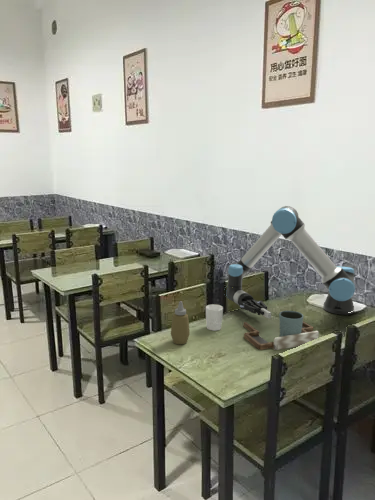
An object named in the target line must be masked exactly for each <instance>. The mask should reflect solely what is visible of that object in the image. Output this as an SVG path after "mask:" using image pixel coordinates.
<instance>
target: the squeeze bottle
mask: <svg viewBox="0 0 375 500" xmlns="http://www.w3.org/2000/svg"><path fill="white" fill-rule="evenodd" d="M170 327H171V329H170V336H171V338H172V342H173V344H175V345H184V344H187V343H188V341H189V339H190V338H189V337H190V335H191V334H190V333H191V332H190V320H189V315H188V314H187V309H186V308H184V304H183V301H181V300H180V301H179V302H178V306H177V308H175V309H174V313H173V315H172V318H171V326H170Z"/></svg>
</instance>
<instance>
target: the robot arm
mask: <svg viewBox="0 0 375 500" xmlns="http://www.w3.org/2000/svg"><path fill="white" fill-rule="evenodd" d="M271 219H272V220H271V221H270V225H269V226H268V228H266V230H265V231H264V232H263V233H262V234H261V235H260V237H259V238H258V239H257V240H256V241H255V242H254V243H253V244H252V246H251V247H250V248H249V249H248V250H247V251H246V253H245V254H244V255H243V256H241V258H240V260H239V261H238V262H237V263H236V264H235V263H232V264H230V265H228V270H227V276H228V277H227V286H228V288H227V290H226V296H227V297H226V296H225V297H226V298H227V299H228V300H230V301H231V302H234V303H235V304H236V305H238V307H239V309H240V310H241V309H242V310H245V311H247V312H249V313H251V314H257V315H258V316H260V315H261V316H263V317H265V318H266V319H272V312H271V311H269V310H268V306H267V305H266V304H265V303H264V302H263V300H259V301H258V300H256V299H255V298H254V297H253V296H252V295H251V294H250V293H248V292H246V291H244V290H243V278H244V277H245V276H246V275H247V274H248V273H249V271H250V270H252V268H253V267H254V266H255V265H256V263H258V261H260V259H261V258H262V257H263V256H264V255H265V253H266V252H268V250H269V249H270V248H271V247H272V246H273V245H274V244H275V242H276V241H277V240H278V239H279V238H280V237H281V236H282V237H283V238H284V239H285V240H289V241H291V243H292V244H293V245H294V246H295V248H297V250H298V251H299V252H300V254H302V256H303V257H304V258H305V259H306V261H307V262H308V263H309V265H311V266H312V267H313V269H314V270H315V272H317V274H319V276H320V277H321V283H322V284H323V285H324V286H325V288H326V290H327V295H326V298H325V300H324V302H323V307H322V308H323V310H324V311H326V312H328V313H330V314H335V315H343V316H344V315H346V316H347V315H351V314H353V313H354V312H355V306H354V302H353V296H354V294H355V292H356V284H355V281H354V280H355V278H354V277H355V269H354V268H352V267H349V266H348V267H347V266H341V265H340V266H339V265H335V263H334V262H333V260H331V259H330V257H329V256H328V255H327V254H326V252H325V251H324V250H323V249H322V248H321V246H320V245H319V244H318V243H317V242H316V241H315V239H314V238H313V237H312V236H311V235H310V233H309V232H308V231H307V230H306V229H305V223H304V221H302V219H301V218H300V217H299V212H298V211H297V209H295V208H294V207H292V206H289V205H285V206H282V207H280V208H278V209H277V210H276V211H275V212H274V213H273V215H272V218H271ZM232 287H233V288H232ZM353 310H354V311H353ZM351 311H353V312H351ZM348 312H351V313H348Z"/></svg>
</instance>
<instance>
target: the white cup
mask: <svg viewBox="0 0 375 500" xmlns="http://www.w3.org/2000/svg"><path fill="white" fill-rule="evenodd" d="M223 312H224V306H222V305H220V304H215V303H214V304H213V303H212V304H208V305H206V306H205V321H206V325H205V326H206V329H207V330H210V331H214V332H215V331H220V330H221V329H222V323H223V314H224V313H223Z"/></svg>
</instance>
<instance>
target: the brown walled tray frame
mask: <svg viewBox="0 0 375 500" xmlns="http://www.w3.org/2000/svg"><path fill="white" fill-rule="evenodd" d="M242 327H244V328H245V329H246V330H247V331H248V332H244V333H243V338H244V339H245V340H246V341H248V342H249V343H250V344H251V345H252V346H253V347H255V348H256V349H258V350H261V351H263V350H267V349H273V350H275V351H278V350H285V349H289V348H295V347H301V346H300V345H302V344H305V343H307V342H309V341H312V340H314V339H317V338H318V339H319V334H320V333H319V330H314V326H312V325H310V324H308V323H307V322H305V321H304V320H303V324H302V331H301V333H300V334H294V335H287V336H281V337H280V336H277V337H274V338H273V341H270V342H269V341H267V340H266V339H264V338H263V337H262V336H261V335H260V331H259V330H257V329H256V328H255V327H254V326H252V325H251V324H250V323H248V322H246V321H243V326H242ZM302 346H303V345H302Z"/></svg>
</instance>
